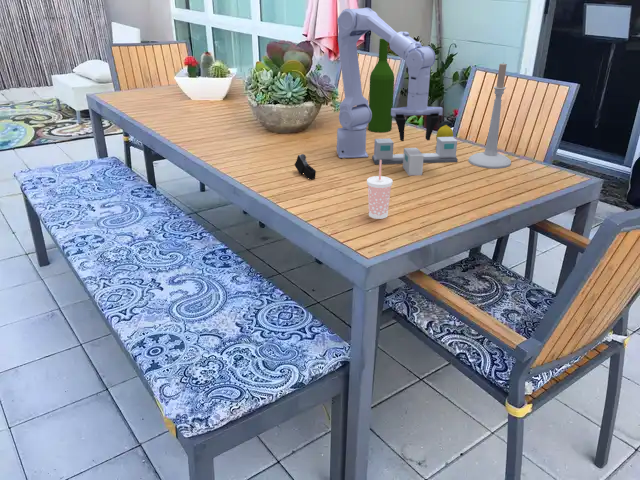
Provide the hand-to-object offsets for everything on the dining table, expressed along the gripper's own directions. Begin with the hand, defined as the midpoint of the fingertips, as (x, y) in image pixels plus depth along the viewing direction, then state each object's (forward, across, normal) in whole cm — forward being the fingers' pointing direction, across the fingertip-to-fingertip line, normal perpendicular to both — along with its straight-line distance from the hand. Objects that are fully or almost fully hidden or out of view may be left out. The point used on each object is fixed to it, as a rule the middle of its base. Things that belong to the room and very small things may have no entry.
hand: (414, 139), depth 156 cm
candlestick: (+10, +26, +6) cm, 28 cm away
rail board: (+9, +3, +10) cm, 14 cm away
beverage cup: (+10, -16, -32) cm, 37 cm away
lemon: (+10, +16, +22) cm, 29 cm away
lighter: (+10, -32, -1) cm, 34 cm away
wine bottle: (+10, -1, +49) cm, 50 cm away
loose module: (+10, 0, 0) cm, 10 cm away
